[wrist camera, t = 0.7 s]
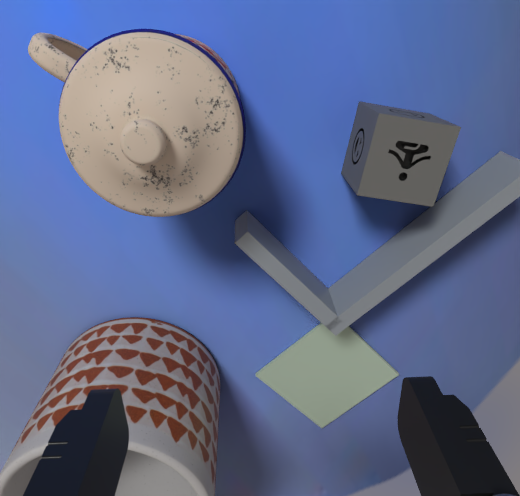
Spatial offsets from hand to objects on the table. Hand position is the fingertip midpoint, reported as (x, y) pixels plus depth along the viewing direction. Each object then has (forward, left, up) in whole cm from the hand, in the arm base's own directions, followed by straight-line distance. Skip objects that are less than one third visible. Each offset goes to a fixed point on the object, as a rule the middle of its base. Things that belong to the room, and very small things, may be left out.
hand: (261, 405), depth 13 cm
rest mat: (+7, +18, -22) cm, 29 cm away
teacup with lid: (0, -8, -22) cm, 24 cm away
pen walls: (-6, +7, -22) cm, 24 cm away
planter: (+19, +7, -22) cm, 30 cm away
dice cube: (-9, +5, -22) cm, 24 cm away
